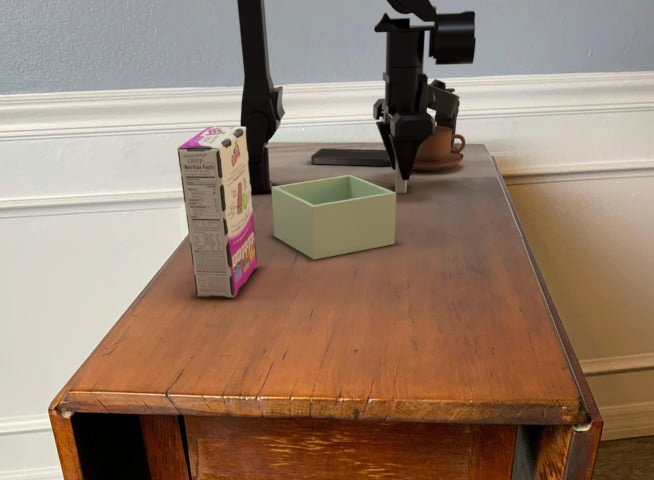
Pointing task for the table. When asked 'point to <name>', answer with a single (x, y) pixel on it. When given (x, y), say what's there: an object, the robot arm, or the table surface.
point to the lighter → (399, 181)
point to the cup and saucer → (439, 151)
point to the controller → (446, 121)
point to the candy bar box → (219, 210)
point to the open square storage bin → (334, 216)
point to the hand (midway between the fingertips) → (400, 174)
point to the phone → (351, 157)
